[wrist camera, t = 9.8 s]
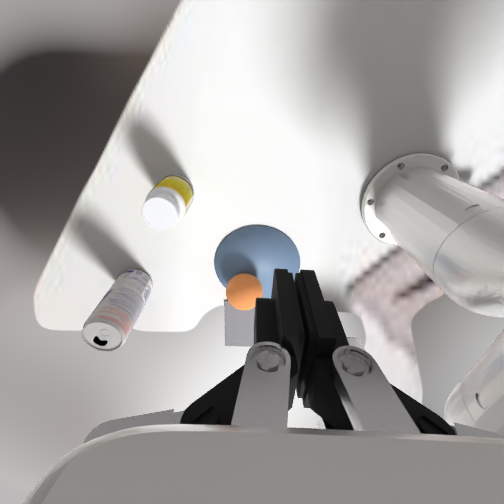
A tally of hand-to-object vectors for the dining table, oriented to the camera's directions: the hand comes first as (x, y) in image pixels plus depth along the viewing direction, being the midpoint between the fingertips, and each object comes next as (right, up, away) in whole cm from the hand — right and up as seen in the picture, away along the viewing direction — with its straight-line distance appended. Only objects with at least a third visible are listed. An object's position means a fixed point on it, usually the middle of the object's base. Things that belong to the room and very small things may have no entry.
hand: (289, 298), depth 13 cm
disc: (-1, 0, +32) cm, 32 cm away
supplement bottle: (-12, +10, +27) cm, 31 cm away
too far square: (-1, -11, +38) cm, 39 cm away
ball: (-3, -4, +31) cm, 32 cm away
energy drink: (-20, -3, +34) cm, 40 cm away
